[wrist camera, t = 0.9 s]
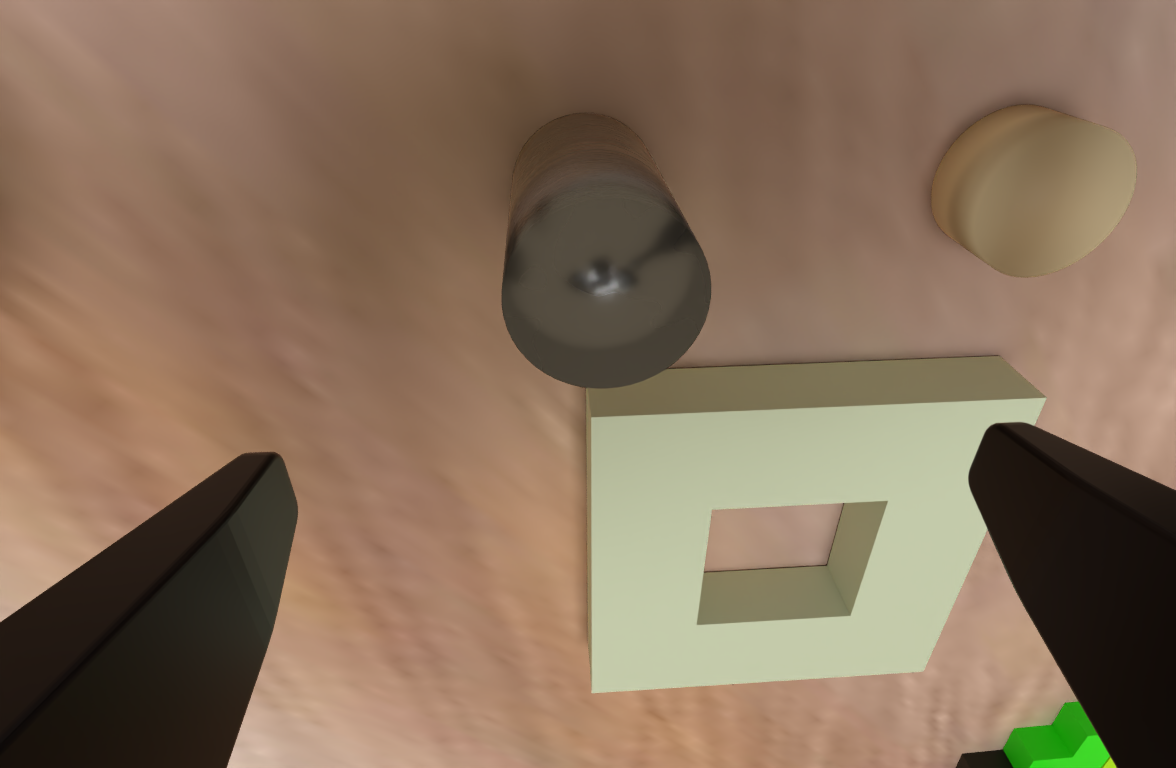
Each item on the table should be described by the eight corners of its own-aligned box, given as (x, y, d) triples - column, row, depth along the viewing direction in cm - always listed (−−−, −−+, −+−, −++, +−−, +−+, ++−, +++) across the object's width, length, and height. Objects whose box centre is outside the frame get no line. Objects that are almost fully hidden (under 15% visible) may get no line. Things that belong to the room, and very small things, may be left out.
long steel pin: (659, 111, 18) (721, 194, 12) (652, 254, 20) (701, 384, 14) (506, 114, 17) (493, 200, 12) (516, 258, 20) (509, 392, 14)
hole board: (999, 355, 23) (1046, 397, 21) (896, 621, 30) (923, 671, 28) (585, 372, 22) (591, 417, 20) (587, 640, 30) (591, 693, 27)
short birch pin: (1093, 102, 18) (1165, 123, 16) (1040, 241, 21) (1097, 275, 18) (952, 104, 18) (1006, 125, 16) (913, 245, 20) (956, 279, 18)
